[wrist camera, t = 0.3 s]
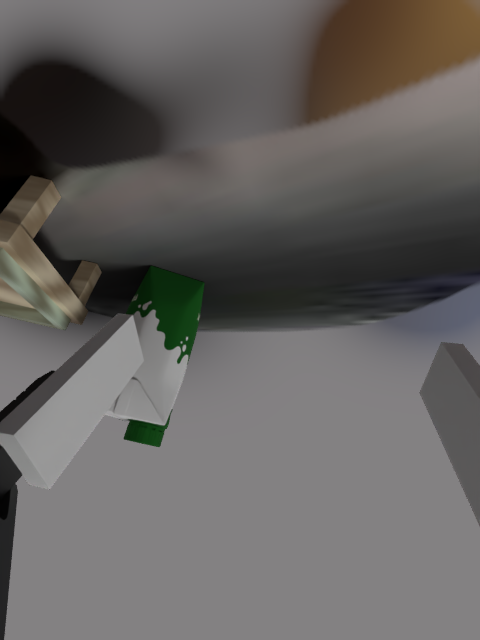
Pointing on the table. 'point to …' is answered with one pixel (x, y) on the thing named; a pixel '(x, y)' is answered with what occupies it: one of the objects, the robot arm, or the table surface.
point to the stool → (38, 264)
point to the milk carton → (159, 352)
